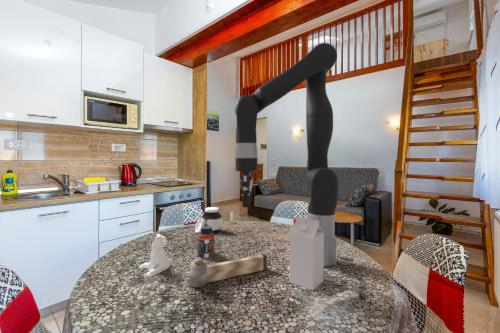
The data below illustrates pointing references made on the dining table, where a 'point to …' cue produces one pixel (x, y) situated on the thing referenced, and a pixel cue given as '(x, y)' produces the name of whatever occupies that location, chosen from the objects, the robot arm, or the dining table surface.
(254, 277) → the dining table surface
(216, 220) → the spread jar
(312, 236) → the milk carton
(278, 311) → the dining table surface
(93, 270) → the dining table surface
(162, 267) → the white creature statuette
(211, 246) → the supplement bottle
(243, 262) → the dial lever
